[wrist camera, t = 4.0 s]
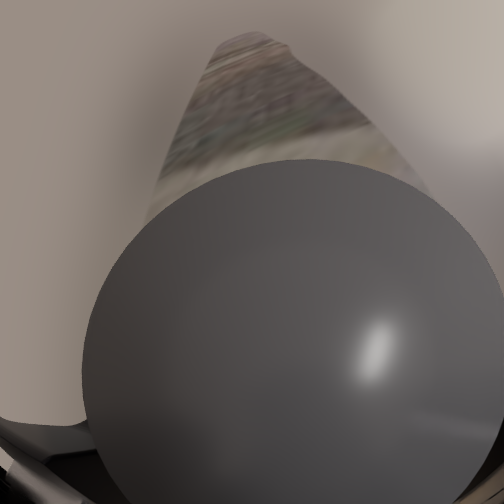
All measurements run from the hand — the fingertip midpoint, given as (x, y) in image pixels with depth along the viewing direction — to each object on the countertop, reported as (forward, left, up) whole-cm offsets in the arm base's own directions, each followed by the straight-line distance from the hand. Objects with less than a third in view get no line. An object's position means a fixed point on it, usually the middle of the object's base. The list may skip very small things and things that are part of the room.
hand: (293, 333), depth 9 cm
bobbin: (-1, 0, -7) cm, 7 cm away
